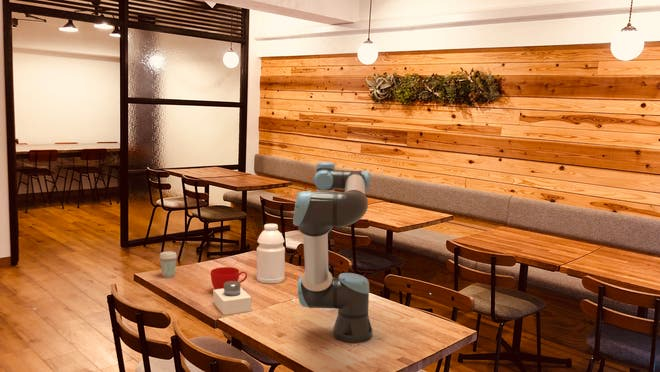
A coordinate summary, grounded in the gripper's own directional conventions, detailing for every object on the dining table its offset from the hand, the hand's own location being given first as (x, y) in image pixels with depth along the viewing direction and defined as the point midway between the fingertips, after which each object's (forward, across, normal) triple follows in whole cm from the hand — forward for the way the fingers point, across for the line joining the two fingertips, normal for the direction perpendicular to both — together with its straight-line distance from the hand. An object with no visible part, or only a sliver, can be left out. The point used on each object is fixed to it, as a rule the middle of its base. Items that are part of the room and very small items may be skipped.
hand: (323, 253), depth 245 cm
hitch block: (+24, +18, +35) cm, 46 cm away
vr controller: (+25, 0, -3) cm, 25 cm away
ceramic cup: (+25, +38, +30) cm, 54 cm away
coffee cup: (+25, +72, +51) cm, 92 cm away
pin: (+24, +17, +35) cm, 46 cm away
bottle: (+25, +47, +6) cm, 53 cm away
